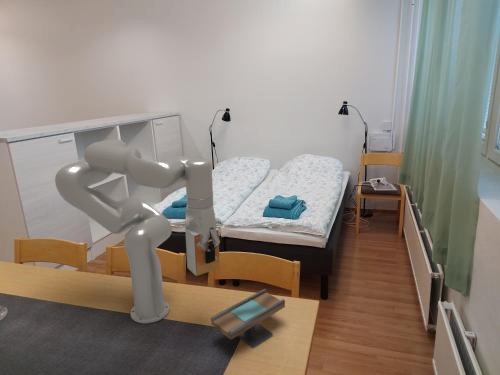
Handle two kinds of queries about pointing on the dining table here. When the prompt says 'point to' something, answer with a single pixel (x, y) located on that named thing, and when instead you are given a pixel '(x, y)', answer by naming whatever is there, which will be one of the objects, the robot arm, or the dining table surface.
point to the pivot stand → (255, 335)
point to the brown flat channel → (246, 313)
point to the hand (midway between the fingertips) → (203, 257)
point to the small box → (199, 254)
